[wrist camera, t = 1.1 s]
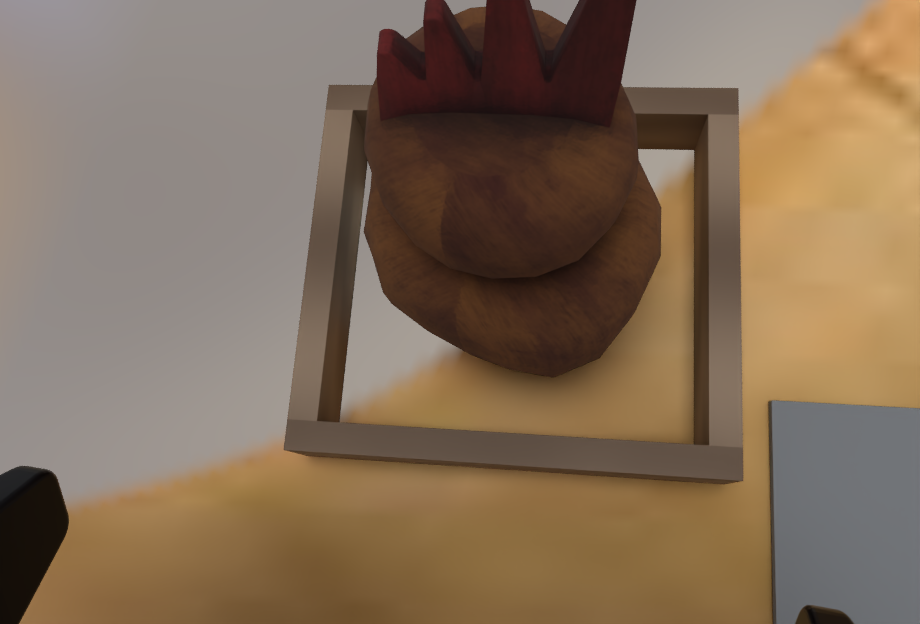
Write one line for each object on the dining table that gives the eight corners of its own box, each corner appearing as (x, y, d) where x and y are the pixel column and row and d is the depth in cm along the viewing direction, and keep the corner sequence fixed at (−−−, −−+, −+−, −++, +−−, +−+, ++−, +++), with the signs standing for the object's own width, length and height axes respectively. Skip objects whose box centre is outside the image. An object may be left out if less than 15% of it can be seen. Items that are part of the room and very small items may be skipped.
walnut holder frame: (724, 484, 22) (743, 480, 19) (308, 456, 23) (283, 449, 21) (721, 126, 24) (738, 88, 22) (347, 120, 25) (329, 84, 23)
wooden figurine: (666, 246, 23) (854, -191, 9) (586, 425, 22) (650, 259, 8) (460, 162, 25) (332, -334, 10) (375, 327, 24) (101, 33, 9)
